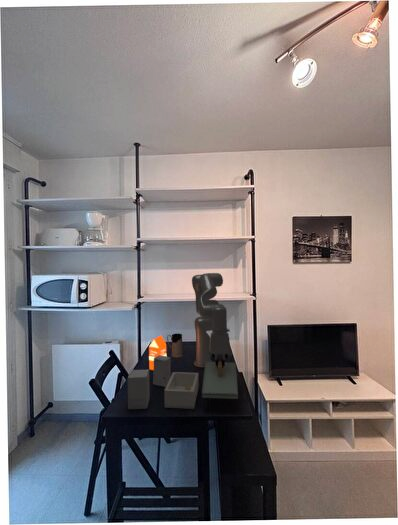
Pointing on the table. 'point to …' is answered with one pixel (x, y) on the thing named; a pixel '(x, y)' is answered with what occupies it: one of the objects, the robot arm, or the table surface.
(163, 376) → the skincare box
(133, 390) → the supplement box
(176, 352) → the brown pitcher
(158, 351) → the orange juice
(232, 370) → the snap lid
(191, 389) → the parts tub
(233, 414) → the table surface
